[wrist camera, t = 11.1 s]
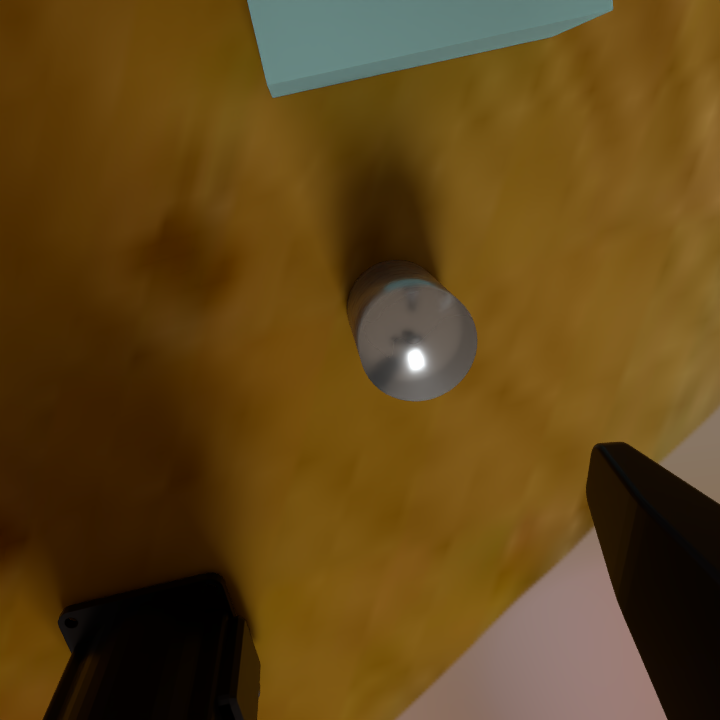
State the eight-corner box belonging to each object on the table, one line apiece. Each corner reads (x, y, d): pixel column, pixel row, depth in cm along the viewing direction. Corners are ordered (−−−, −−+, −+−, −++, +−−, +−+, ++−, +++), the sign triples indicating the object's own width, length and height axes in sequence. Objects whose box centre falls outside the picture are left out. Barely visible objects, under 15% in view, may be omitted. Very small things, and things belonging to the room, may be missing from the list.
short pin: (357, 362, 22) (372, 412, 18) (337, 272, 21) (348, 302, 17) (449, 341, 23) (484, 386, 18) (433, 250, 21) (467, 275, 17)
